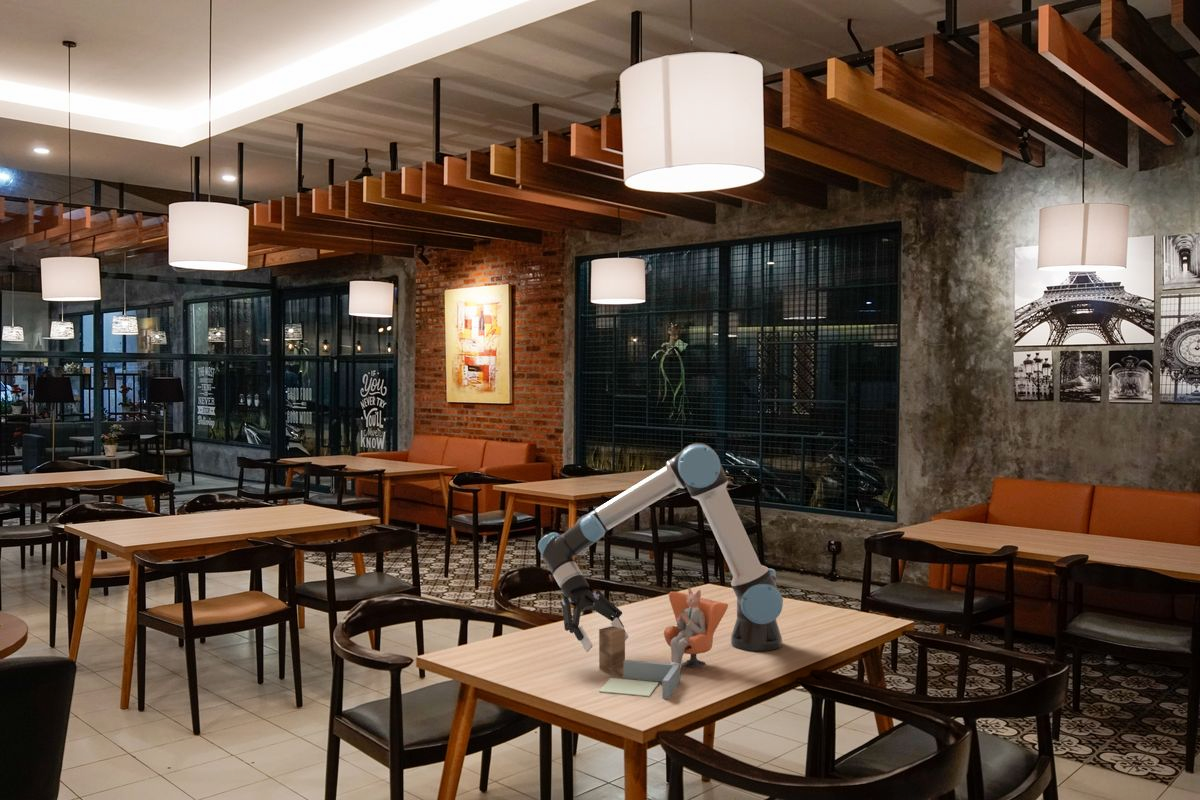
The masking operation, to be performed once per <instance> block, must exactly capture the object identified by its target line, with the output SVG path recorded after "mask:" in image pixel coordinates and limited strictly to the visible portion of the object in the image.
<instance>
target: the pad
mask: <svg viewBox="0 0 1200 800" xmlns="http://www.w3.org/2000/svg"><path fill="white" fill-rule="evenodd" d="M659 682H660V681H649V680H638V679H627V678H615V677H610V678H609V679H608V680H607V681H606V683H605V684H604V685H602V687H601V688H600V689H599V691H598V692H599V693H603V694H605V693H606V694H614V695H615V694H616V695H624V696H625V695H626V696H636V697H637V696H638V697H647V698H648V697H650V696H651V695H652V693H653V692H654V691H655V689H656V688H657V686H658V685H659Z"/></svg>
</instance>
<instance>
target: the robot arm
mask: <svg viewBox="0 0 1200 800" xmlns="http://www.w3.org/2000/svg"><path fill="white" fill-rule="evenodd" d="M728 483H729V479H728V477H727V474H726V473H725V470H724V468H723V465H722V464H721V459H720V458H719V456H718V454H717V452H716V451H715V450H714V449H713V448H712V447H711V446H709V445H708V444H705V443H702V442H695V443H691V444H688V445H687V446H685V447H684V448H683V449H682V450H681V451H680V452H679V453H677V454H676V455H675V456H673V457H671V459H669V460H667V461H666V463H665V466H663V467H662V468H660V469H658V470H657V471H656V472H654V473H652V474H650V475H649V476H647V477H646V478H644V479H642V480H641V481H639V482H637V483H636V484H634V485H632V486H630V487H629V488H627V489H626V490H624V491H622V492H621V493H619V494H618V495H616V496H614V497H613V498H611V499H610V500H608V501H606V502H605V503H603V504H601V505H600V506H598V507H596V508H595V509H594V510H592V511H590V512H588V513H587V514H584V515H582V516H581V517H579V518H578V519H577V521H576V523H575V524H574V525H573V526H571V527H570V528H569V529H568V530H566V531H565V532H564V533H562V534H559V533H558V532H554V531H553V532H550V533H548V534H545V535H544V536H543V537H541V539H540V540H539V541H538V544H537V549H538V551H539V552H540V555H541V558H542V559H543V560H544V562H545V564H546V565H547V567H548V569H549V571H550V572H551V574H552V576H553V578H554V580H555V581H556V583H557V585H558V586H559V588H560V590H561V592H562V594H563V596H564V597H563V598H562V599H561V600H560V605H561V608H562V613H563V615H562V617H563V625H564V630H565V631H567V632H568V631H569V633H570V634H574V636H575V638H576V639H577V641H579V642H580V643H581V645H582V647H583V648H584V651H585V653H588V652H589V651H591V649H592V648H593V647H594V645H593V643H592V642H591V640H590V638H589V636H588V634H587V633H586V631H585V629H584V628H583V626H582V625H579V624H580V620H581V619H580V618H581V613H582V612H585V611H590V610H591V611H595V612H597V613H598V614H600V615H601V616H603V617H604V618H606V619H607V620H609V621H611V622H610V626H614V627H618V628H621V629H625V626H624V624H623V623H622V621H621V619H620V617H621V616H622V615H623V611H622V610H620V609H619V608H618V607H617V606H616V605H615V604H614V603H613V602H612V601H610V600H609V599H608V598H607V597H605V596H604V594H603V593H602V591H600V589H597V590H595V592H592V591H591V590H590V585H589V583H588V581H587V579H586V577H585V576H584V575H583V572H582V571H581V569H580V567H579V565H578V563H577V562H576V560H575V558H576V557H577V556H578V555H579V554H581V553H582V552H583V551H585V550H586V549H588V548H589V547H591V546H592V545H593V544H595V543H597V542H598V541H599V540H601V538H602V537H604V536H605V534H606V532H608V531H609V530H611V529H612V528H614V527H617V525H619V524H621V523H623V522H624V521H626V520H627V519H629V518H631V517H632V516H634V515H635V514H637V513H639V512H640V511H642V510H644V509H647V507H649V506H650V505H652V504H654V503H656V502H658V501H659V500H660V499H662V498H664V497H666V496H667V495H669V494H671V493H672V492H674V491H677V489H685V488H687V491H688V493H689V495H690V498H692V499H694V500H696V501H698V502H699V505H700V506H701V508H702V512H703V514H704V515H705V517H706V520H707V522H708V524H709V527H710V528H711V531H712V533H713V535H714V537H715V540H716V541H717V544H718V546H719V548H720V550H721V553H722V555H723V557H724V559H725V562H726V563H727V567H728V568H729V571H730V573H731V575H732V579H731V582H730V585H731V587H732V589H733V590H732V591H733V592H734V594H735V596H736V620H735V623H734V627H733V630H732V633H731V636H730V645H732V646H733V647H735V648H737V649H741V650H744V651H755V652H756V651H757V652H766V651H773V650H774V651H775V650H777V649H780V648H782V646H783V638H782V634H781V631H780V628H779V625H778V622H777V621H778V620H777V618H778V617H779V616H780V614H781V613H782V612H783V611H782V610H783V607H784V605H783V604H784V603H783V602H784V599H783V595H782V593H781V592H780V591H779V589H778V587H777V574H776V573H777V572H776V570H775V569H773V568H770V567H769V568H768V567H767V566H766V565H763V564H761V562H760V560H759V558H758V556H757V553H756V551H755V548H754V547H753V545H752V543H751V541H750V540H751V539H750V538H749V536H748V534H747V531H746V529H745V527H744V524H743V523H742V520H741V518H740V516H739V515H738V514H739V513H738V512H737V510H736V508H735V505H734V503H733V500H732V498H731V497H730V495H729V492H728V490H727V487H728ZM571 606H572V607H573V609H572V607H571ZM572 613H573V614H572ZM629 638H630V636H629V634H628V633H627V632H626V630H625V642H626V641H627V640H628V639H629Z"/></svg>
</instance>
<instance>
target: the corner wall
mask: <svg viewBox="0 0 1200 800" xmlns="http://www.w3.org/2000/svg"><path fill="white" fill-rule="evenodd" d="M670 663H671V662H670ZM670 663H667V662H656V661H645V660H644V661H643V660H632V659H631V660H630V659H625V660H624V661H623V678H622V679H627V680H638V681H650V682H661V683H662V690H661V691H662V699H664V700H665V699H666V700H669V699H670V698H671V696H672V694H673V693H674V691H675V690H676V689H677V687H678V685H679V684H680V683H681V669H680V664H670Z"/></svg>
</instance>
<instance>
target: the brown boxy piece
mask: <svg viewBox="0 0 1200 800" xmlns="http://www.w3.org/2000/svg"><path fill="white" fill-rule="evenodd" d="M625 631H626V629H625V628H624V629H621V628H618V627H614V626H612V625H610V626H606V627H603V628H599V629H598V646H599V647H598V649H599V650H598V652H599V653H598V657H599V658H598V662H599V663H598V664H599V665H598V666H599V667H598V670H601V671H604V672H606V673H610V674H613V675H616V676H619V677H623V661H624V660H626V641H625Z"/></svg>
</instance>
